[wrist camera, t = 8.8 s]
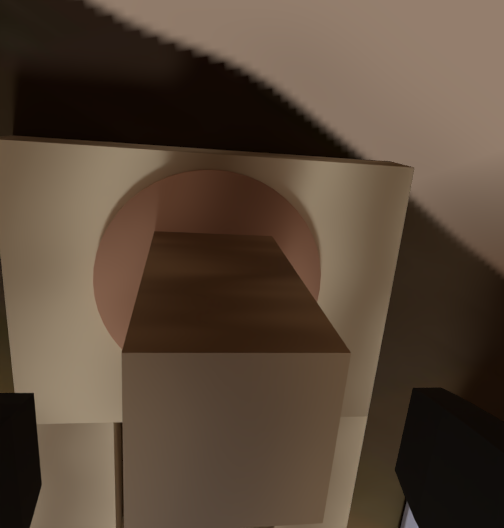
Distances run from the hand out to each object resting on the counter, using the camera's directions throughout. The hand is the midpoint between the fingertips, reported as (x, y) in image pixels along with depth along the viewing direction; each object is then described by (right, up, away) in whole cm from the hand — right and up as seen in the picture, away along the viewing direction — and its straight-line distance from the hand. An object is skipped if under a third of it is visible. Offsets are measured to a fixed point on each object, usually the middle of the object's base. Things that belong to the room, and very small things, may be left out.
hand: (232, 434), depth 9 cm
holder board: (-2, -1, +11) cm, 11 cm away
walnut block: (-1, +2, +7) cm, 8 cm away
